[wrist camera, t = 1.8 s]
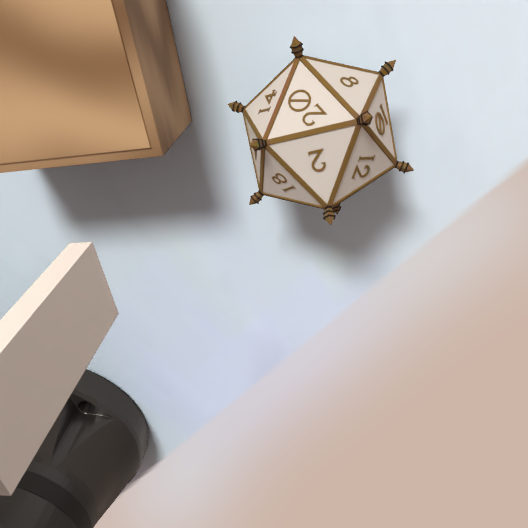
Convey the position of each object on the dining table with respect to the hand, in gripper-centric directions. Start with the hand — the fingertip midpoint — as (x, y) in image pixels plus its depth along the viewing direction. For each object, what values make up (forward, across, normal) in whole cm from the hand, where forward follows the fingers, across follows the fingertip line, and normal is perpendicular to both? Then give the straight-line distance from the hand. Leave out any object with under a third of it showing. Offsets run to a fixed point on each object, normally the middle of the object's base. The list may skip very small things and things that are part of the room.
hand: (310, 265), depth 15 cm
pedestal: (+16, +13, -6) cm, 22 cm away
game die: (+17, 0, 0) cm, 17 cm away
